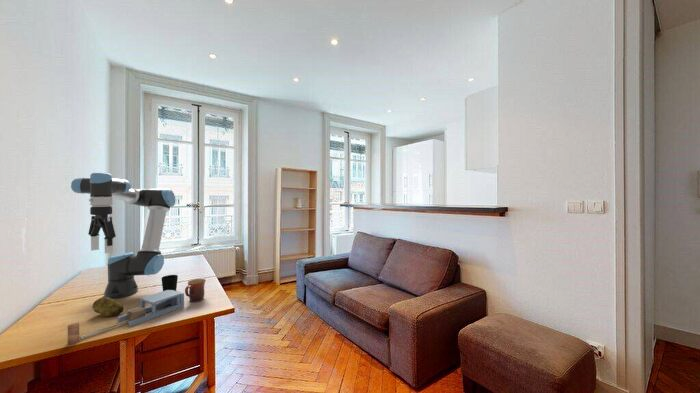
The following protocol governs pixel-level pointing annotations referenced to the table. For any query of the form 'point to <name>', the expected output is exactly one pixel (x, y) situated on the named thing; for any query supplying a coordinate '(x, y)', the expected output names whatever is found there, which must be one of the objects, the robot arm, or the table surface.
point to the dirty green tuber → (107, 307)
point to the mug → (195, 289)
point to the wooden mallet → (74, 328)
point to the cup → (169, 282)
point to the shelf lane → (157, 305)
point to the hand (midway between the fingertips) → (101, 251)
